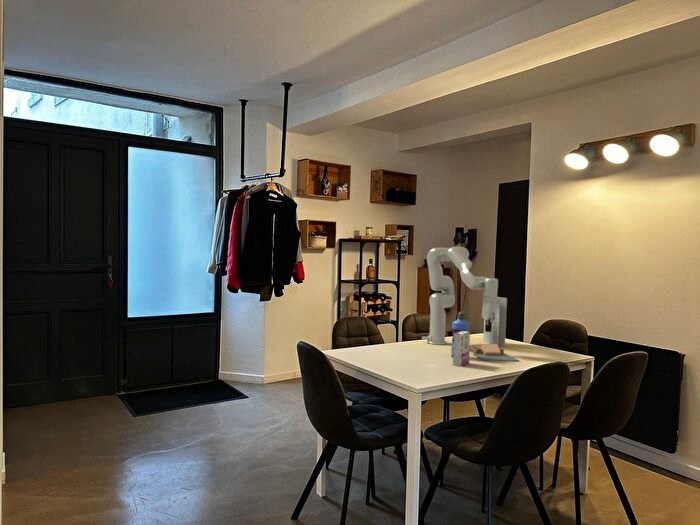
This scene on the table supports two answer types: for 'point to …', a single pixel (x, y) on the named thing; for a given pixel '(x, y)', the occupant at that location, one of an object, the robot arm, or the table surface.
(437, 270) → the robot arm
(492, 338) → the tall grey box
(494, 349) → the tile
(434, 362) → the table surface
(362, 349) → the table surface
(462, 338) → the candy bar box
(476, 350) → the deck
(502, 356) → the mat
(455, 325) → the water bottle
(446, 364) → the table surface
